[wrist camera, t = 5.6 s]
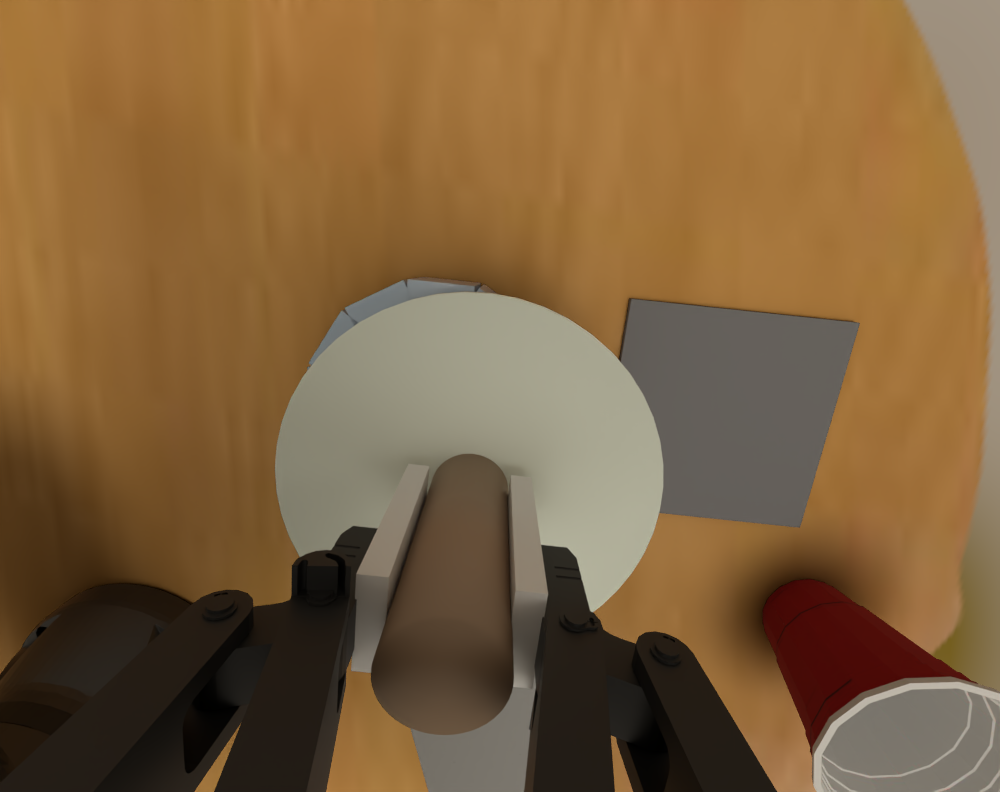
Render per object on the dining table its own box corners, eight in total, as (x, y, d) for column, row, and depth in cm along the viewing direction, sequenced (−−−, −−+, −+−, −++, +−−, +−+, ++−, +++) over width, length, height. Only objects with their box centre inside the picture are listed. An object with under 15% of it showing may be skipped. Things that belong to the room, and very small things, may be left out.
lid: (282, 619, 21) (108, 898, 12) (285, 267, 18) (34, 267, 8) (620, 653, 22) (712, 950, 12) (693, 317, 18) (906, 372, 9)
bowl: (336, 475, 34) (307, 510, 29) (340, 267, 30) (307, 268, 25) (537, 496, 34) (541, 535, 29) (565, 291, 30) (575, 296, 25)
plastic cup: (737, 541, 34) (850, 682, 23) (891, 550, 34) (1084, 696, 23) (711, 667, 37) (801, 849, 26) (854, 676, 37) (1009, 863, 26)
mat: (595, 502, 34) (596, 506, 33) (629, 298, 30) (631, 299, 30) (795, 523, 34) (799, 527, 33) (854, 322, 30) (859, 323, 30)
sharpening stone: (429, 549, 35) (394, 670, 25) (537, 533, 35) (547, 650, 24) (492, 806, 42) (485, 989, 31) (584, 796, 41) (608, 979, 30)
